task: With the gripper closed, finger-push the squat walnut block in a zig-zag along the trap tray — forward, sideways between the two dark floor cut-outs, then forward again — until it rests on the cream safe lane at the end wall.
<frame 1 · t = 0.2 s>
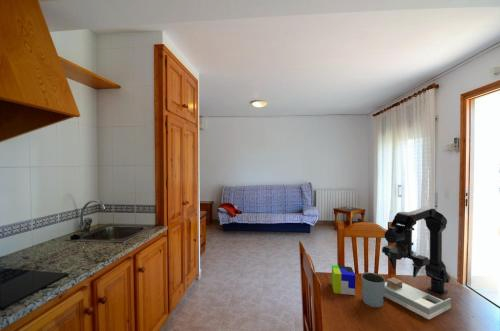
hand: (403, 273, 114), 14 cm above the table, fingers open, 9 cm apart
block: (394, 286, 126), point 2 cm above the table, touching trap tray
puzzle toy: (342, 289, 127), on the table
trap tray: (409, 298, 118), on the table
grey cup: (372, 302, 115), on the table
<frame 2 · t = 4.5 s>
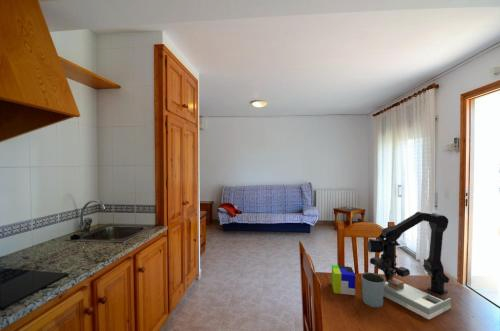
hand: (388, 282, 129), 3 cm above the table, fingers closed
block: (395, 287, 125), point 2 cm above the table, touching gripper
everything else where it was.
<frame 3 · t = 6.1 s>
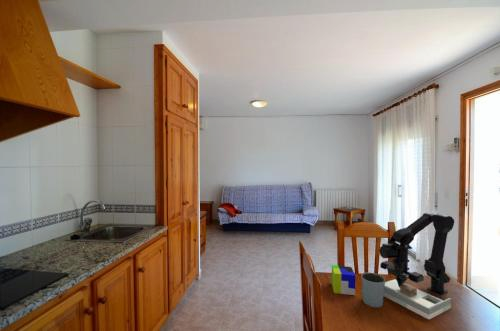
hand: (400, 287, 123), 3 cm above the table, fingers closed
block: (408, 293, 120), point 2 cm above the table, touching gripper, trap tray
everything else where it was.
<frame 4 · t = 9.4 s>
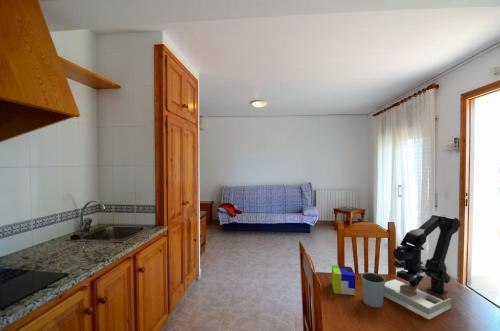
hand: (413, 289, 121), 3 cm above the table, fingers closed
nothing on the table moved.
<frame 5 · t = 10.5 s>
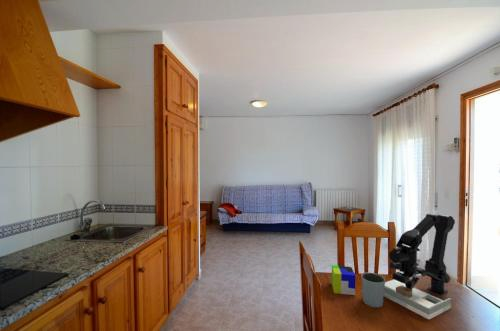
hand: (409, 291, 120), 3 cm above the table, fingers closed
block: (403, 295, 118), point 2 cm above the table, touching gripper, trap tray
everything else where it was.
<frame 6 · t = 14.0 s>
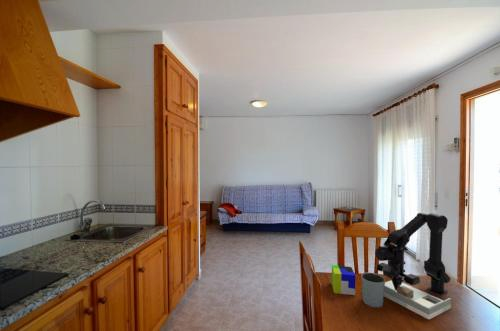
hand: (396, 290, 121), 3 cm above the table, fingers closed
block: (404, 295, 117), point 2 cm above the table, touching trap tray
everything else where it was.
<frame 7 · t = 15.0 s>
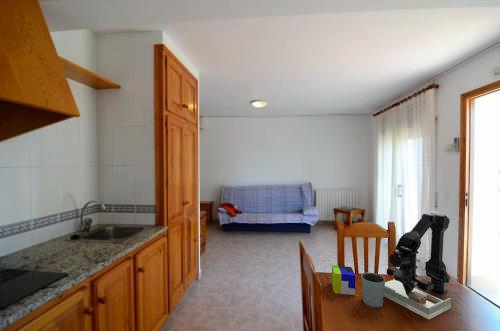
hand: (408, 295, 116), 3 cm above the table, fingers closed
block: (417, 301, 112), point 2 cm above the table, touching gripper, trap tray
everything else where it was.
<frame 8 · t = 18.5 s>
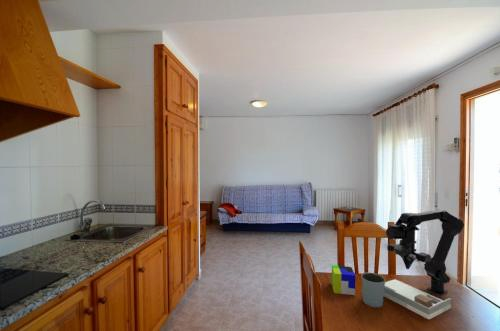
hand: (407, 269, 124), 12 cm above the table, fingers closed
block: (423, 304, 110), point 2 cm above the table, touching trap tray
everything else where it was.
at the end: block inside the target area (0.5 cm from its centre), point 2.0 cm above the table; block tilted 0° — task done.
